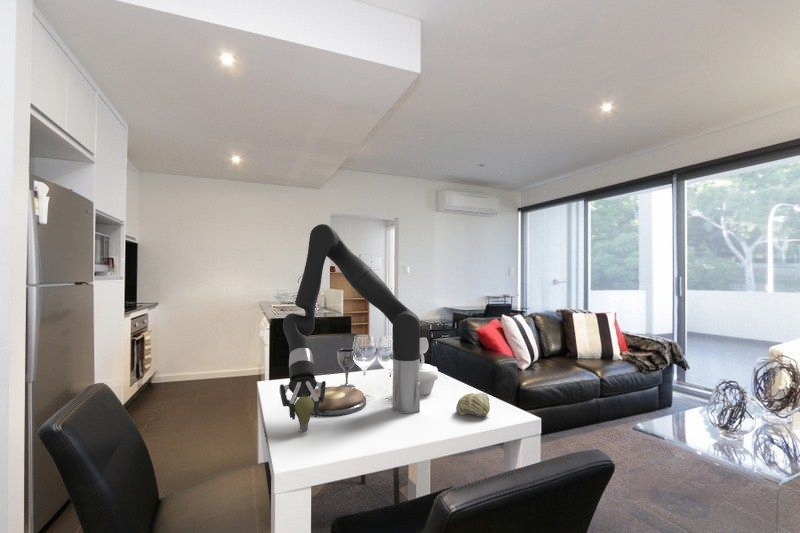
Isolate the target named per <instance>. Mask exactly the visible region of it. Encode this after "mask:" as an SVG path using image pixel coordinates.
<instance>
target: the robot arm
mask: <svg viewBox="0 0 800 533" xmlns="http://www.w3.org/2000/svg"><path fill="white" fill-rule="evenodd" d="M327 258H328V259H329V260H331V262H333V264H335V266H336V267H337V268H338V269H339V271H340V273H341V274H342V275H343V277H344V278H345V279H346V281H347V282H348V284H349V285H350V286H351V287H352V288H353V289H354V290H355V292H357V294H358V295H359V296H361V297H362V299H364V300H365V301H367V302H368V303H369V304H370V305H371V306H373V307H375V308H376V309H377V310H379V311H380V312H381V313H382V314H383V315H384V316H385V318H386V319H387V320H388V321H389V322H390V324H391V325H392V403H391V404H392V406H391V407H392V410H393V412H394V411H395V412H396V413H402V414H411V413H417V412H421V410H420V408H421V406H420V405H421V404H420V403H421V395H420V382H419V374H420V363H421V361H420V360H421V355H420V338H421V334H420V333H421V322H420V318H419V316H418V315H417V314H416V313H415V312H413V311H412V310H411V309H410V308H408V307H407V306H406V305H405V304H404V303H403V302H402V301H400V300H399V299H398V298H397V297H396V295H395V294H394V293H393V292H392V291H391V289H390V288H389V287H388V286H387V284H386V283H385V282H384V281H383V280H382V279H381V277H380V276H379V275H378V274H377V273H376V272H375V271H374V270H373V269H372V268H371V267H370V265H368V264H367V263H366V262H365V261H363V260H362V259H361V258H360V257H358V256H357V255H355V253H353V252H352V250H350V248H348V246H347V245H346V244H345V243H344V241H343V240H342V239H341V237H340V236H339V234H338V232H336V230H334V229H333V228H332V226H330V225H328V224H325V223H321V224H318V225H316V226H314V227H313V228H312V229H311V231H310V233H309V241H308V249H307V256H306V261H305V266H304V270H303V274H302V277H301V281H300V284H299V287H298V290H297V294H296V298H295V300H294V304H295V306H296V307H298V308H299V309H302V310H303V311H304V315H303V314H297V313H288V314H286V315H285V317H284V319H283V322H282V329H283V334H284V336H285V337H286V341H287V343H288V347H289V349H288V350H289V359H288V369H289V383H288V384H282V383H281V384H279V389H278V390H279V394H280V399H281V403H282V406H283V407H288V408H289V412H288V413H289V418H291V420H292V421H293V420H296V413H295V403H296V401H297V400H298V399H299V398H300V397H303V396H307V397H308V396H309V397H310V398H311V399H312V400H313V402H314V410H313V411H314V416H313V418H317V417H318V416H317V415H318V414H319V403H323V401H324V397H325V387H327V386H326V385H327V383H326V381H325V380H323V381H322V382H321V381H317V379H316V377H315V376H316V375H315V365H314V364H315V362H314V356H313V353H312V341H311V339H310V338H309V336H311V335H312V334H313V332H314V330H315V325H316V322H315V315H316V313H315V312H316V304H317V300H318V297H319V294H320V290H321V284H322V278H323V277H322V276H323V271H324V265H325V263H326V262H325V261H326V259H327ZM316 388H318V389H319V390H321V391H320V397H317V395H316V393H315V391H314V389H316ZM288 390H289V391H290V392H291V393H292V394H291V398H290V399H288V397H287V392H288Z"/></svg>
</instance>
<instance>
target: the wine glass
mask: <svg viewBox="0 0 800 533" xmlns="http://www.w3.org/2000/svg"><path fill="white" fill-rule="evenodd" d="M353 349H354V348H348V347H346V348H339V349H337V353H336V354H337V362H338V365H339V366H340V368H342V369H343V371H344V374H345V383H343V384H340V386H339V385H337V387H350V388H354V387H355V388H356V385H355V384H350V383H349V382H348V378H349V373H350V371H351V369H352V368H353V367H354V366H355V365H356V362H354V360H353ZM354 385H355V386H354Z"/></svg>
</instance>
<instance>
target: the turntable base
mask: <svg viewBox="0 0 800 533" xmlns="http://www.w3.org/2000/svg"><path fill="white" fill-rule="evenodd" d="M365 407H367V397H366V396H365V395H364V399H363V401H362V403H360V404H358V405H356V406H354V407H350V408H346V409H340V410H319V414H318V415H317V417H325V418H326V417H339V416H346V415H351V414H354V413H357V412H359V411H362V410H363V409H364V408H365ZM311 416H313V417H314V411H313V412H312V414H311Z"/></svg>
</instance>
